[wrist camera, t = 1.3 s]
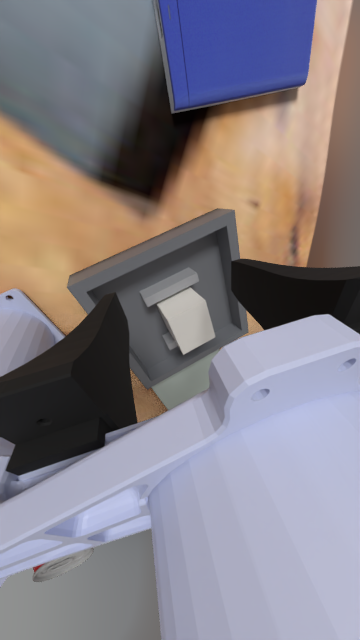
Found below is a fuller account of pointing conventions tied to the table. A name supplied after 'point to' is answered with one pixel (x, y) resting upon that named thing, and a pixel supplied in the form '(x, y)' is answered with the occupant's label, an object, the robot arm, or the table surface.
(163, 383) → the sage mat
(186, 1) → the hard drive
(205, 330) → the block
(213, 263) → the gray square tray
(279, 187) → the table surface
